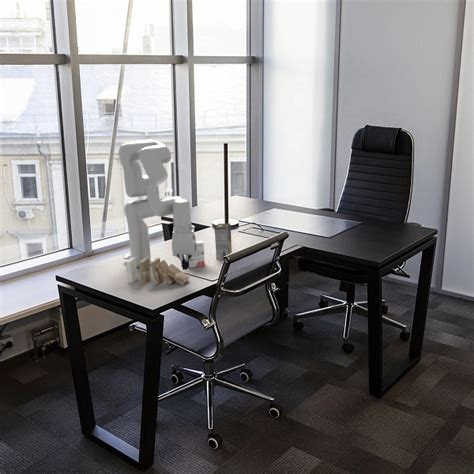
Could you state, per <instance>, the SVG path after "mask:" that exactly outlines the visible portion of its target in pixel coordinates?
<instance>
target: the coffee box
mask: <svg viewBox="0 0 474 474" xmlns="http://www.w3.org/2000/svg"><path fill="white" fill-rule="evenodd" d="M231 229H232V228H231V223H217V225H216V226H215V227H214V242H215V257H216V258H215V259H216V260H223V259H222V258H223V257H224V256H226V255H228V254H230V253H232V254H233V250H232V247H233V245H232V233H231V231H232V230H231Z"/></svg>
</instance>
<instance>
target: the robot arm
mask: <svg viewBox="0 0 474 474" xmlns="http://www.w3.org/2000/svg"><path fill="white" fill-rule="evenodd" d="M118 158H119V160H120V164H121V166H122V171H123V180H124V189H125V193H126V195H127V196H128V197H129V198H138V199H133V200H130V201H128V202H126V204H124V209H123V211H124V215H125V219H126V222H127V229H128V230H127V232H128V238H129V251H130V254H124V255H123V259H124V260H129V259H130V258H131V257H136V267H137V268H140V261H142V260H143V259H144V258H149V262H150V266H151V262H152V261H153V260H154V259H155V258H152V256H151V244H150V234H149V227H148V225H147V223H146V222H145V221H144V219H148V218H153V217H156V216H157V217H161V218H162V217H168V216H170V215H171V216H172V218H173V219H172V221H173V231H172V236H171V251H172V256H173V257H176V258H178V259H179V261H180V262H181V263H180V264H181V268H182V271H187V270H188V269H189V268H190V267H189V259H190V258H191V257H196V256H197V254H196V251H197V245H196V241H197V240H196V235H195V234H196V233H195V231H194V230H195V225H193V224H192V215H191V213H192V212H191V202H190V200H188V199H184V198H182V197H181V196H179V195H178V196H177V195H176V196H175V195H174V196H170V197H164V198H160V190H159V185H161V184H162V183H164V182H165V181H166V180H167V179H168V175H169V174H168V171H167V170H166V167H165V165H164V164H168V163H170V161H171V158H172V153H171V150H170V149H169V147H168V146H167V145H165V144H164V143H162V142H159V141H158V140H157V141H156V140H153V139H144V140H136V141H129V142H124V143H123V144H121V145H120V146H119V149H118ZM139 160H140V163H141V164H140V163H139V162H138V161H139ZM141 165H142V166H141ZM142 168H143V170H144V172H145V174H146V175H143V170H142ZM145 196H146V197H145ZM139 197H145V198H139Z"/></svg>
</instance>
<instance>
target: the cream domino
mask: <svg viewBox="0 0 474 474" xmlns="http://www.w3.org/2000/svg"><path fill="white" fill-rule="evenodd" d="M125 264H126V275H127V283H128V284H133V283H134V282H136V280H137V279H138V269H137V268H138V267H136V257H131V258H130V259H126V261H125Z"/></svg>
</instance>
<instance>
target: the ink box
mask: <svg viewBox="0 0 474 474" xmlns="http://www.w3.org/2000/svg"><path fill="white" fill-rule="evenodd" d="M196 245H197V251H196V254H197V256H196V257H191V258H190V259H189V268H198V267H201V268H202V267H205V265H206V263H205V262H206V261H205V249H204V247H205V246H204V241H203V240H196Z"/></svg>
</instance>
